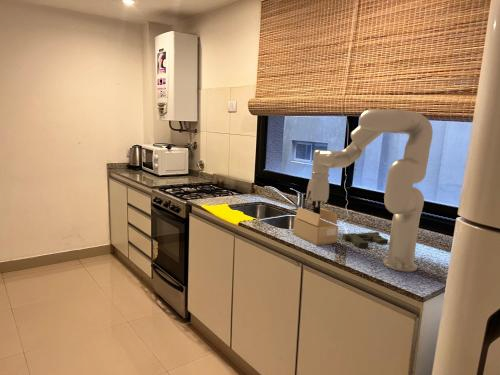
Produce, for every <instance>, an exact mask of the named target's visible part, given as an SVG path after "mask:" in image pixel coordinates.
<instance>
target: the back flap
mask: <svg viewBox="0 0 500 375" xmlns="http://www.w3.org/2000/svg"><path fill="white" fill-rule="evenodd" d="M320 215H321V216H320V219H321V220H324V221H326V222H329V223H332V224H334V225H338V216H337V213H336V212H333V211H330V210H327V209H324V208H322V207H320Z"/></svg>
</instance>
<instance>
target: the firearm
mask: <svg viewBox="0 0 500 375" xmlns="http://www.w3.org/2000/svg"><path fill="white" fill-rule="evenodd" d="M341 238H342V240H343V241H344V242H345V241H347V242H351V243H353V245H354V246H355V247H357V248H359V249H364V248H366V249H367V248H368V247H369V242H373V243H375V244H377V245H383V244H388V243H389V239H387V238H386V237H382V236H381V235H380V232H379V231H371V232H361V233H356V232H353V233H342V237H341Z"/></svg>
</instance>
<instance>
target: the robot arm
mask: <svg viewBox="0 0 500 375" xmlns="http://www.w3.org/2000/svg"><path fill="white" fill-rule="evenodd" d="M358 123H359V125H358V126H357V127H356V128H355V129H354V130H352V131H351V132H350V138H351V140H352V141H351V142H350V144H349V145H348V146H346V148H344V149H343V150H331V151H330V150H328V149H316V150H314V151H313V158H312V168H311V169H312V170H311V178H309V181H308V184H307V188H306V200H307V203H308V204H310V205H311V206H312V212H314V213H317V214H320V208H322V207H323V204H325V203H328V200H329V197H330V196H329V195H330V180H329V177H330V174H329V170H330V169H342V168H343V169H344V168H347V167H349V166H350V165H351V164H353V163H354V162H355V161H357V160H358V159H359V158H360V157H361V156H362V155H363V153H364V151H365V149H366V148H367V146H369V145H370V144H371V143H372V142H373V141H375V140H376V139H377V138H378V137H379V136H380V135H382V134H384V133H387V134H388V133H389V134H390V133H391V134H401V135H404V134H405V135H408V139H407V141H406V144H405V146H404V154H403V157H402V158H400V159H397V160H395V161H394V162H393V163H392V164H391V165H390V167H389V169H388V174H387V179H386V183H385V188H384V189H385V191H384V194H383V195H384V196H383V199H384V200H383V201H384V203H383V204H384V206H385V209H386V210H387V211H388V212H389V213H392V214H393V216H392V220H391V227H390V233H389V234H390V237H389V241H388V243H389V244H388V245H389V246H388V252H387V257H386V258H384V259H382V264H383V266H385V267H386V268H389V269H391V270H395V271H399V272H404V273H408V272H409V273H412V272H415V271H417V270H418V265H417V264H416V263H415V262H414V261H415V252H416V245H417V240H418V239H417V238H418V231H419V227H420V226H419V225H420V218H421V215H422V212H423V208H424V203H425V200H424V199H425V198H424V197H425V196H424V194H423V193H422V191H421V190H420V189H419V188H418V187H415V186H414V184H418V183H421V182H422V181H423V180H424V179H425V176H426V174H427V168H428V163H429V158H430V150H431V146H432V140H433V133H434V131H433V126H432V123H431V122H430V120H429V119H428V118H427V117H426V116H425V115H423V114H421V113H419V112H417V111H412V110H411V111H410V110H404V109H385V108H384V109H382V108H380V109H379V108H378V109H377V108H369V109H367V110H364V111H363V112H362V113H361V114H360V116H359V119H358Z"/></svg>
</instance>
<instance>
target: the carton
mask: <svg viewBox="0 0 500 375" xmlns="http://www.w3.org/2000/svg"><path fill="white" fill-rule="evenodd" d="M292 230H293V231H292V233H293V234H292V235H294V236H296V237H298V238H300V239H303V240H304V241H307V242H308V243H311V244H313V245H314V246H321V245H322V246H323V245H328V244H336V243H338V237H339V236H338V234H339V225H338V224H334V223H331V222H329V221H326V220H323V219H321V218H320V220H319V224H318V226H316V225H313V224H311V223H308V222H306V221H304V220H301V219H299V218H296V216H295V218H294V220H293V229H292Z"/></svg>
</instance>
